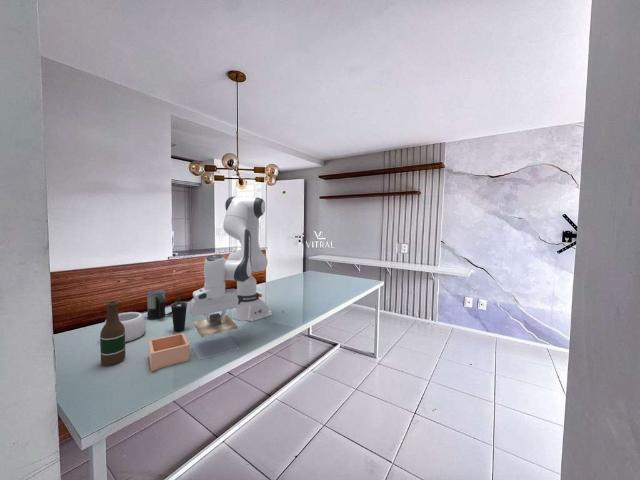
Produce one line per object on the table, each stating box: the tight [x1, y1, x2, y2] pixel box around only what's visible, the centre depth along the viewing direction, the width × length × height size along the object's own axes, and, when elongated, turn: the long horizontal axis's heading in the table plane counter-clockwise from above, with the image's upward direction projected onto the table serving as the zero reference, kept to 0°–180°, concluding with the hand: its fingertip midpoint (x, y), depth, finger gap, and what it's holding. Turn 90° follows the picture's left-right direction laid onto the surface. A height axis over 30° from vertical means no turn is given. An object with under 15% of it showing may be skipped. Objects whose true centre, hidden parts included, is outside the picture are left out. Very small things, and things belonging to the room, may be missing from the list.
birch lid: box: [193, 312, 238, 338], centre depth 116 cm, size 15×15×5 cm
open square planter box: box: [148, 332, 190, 373], centre depth 105 cm, size 13×13×7 cm
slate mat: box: [189, 334, 240, 361], centre depth 116 cm, size 17×17×1 cm
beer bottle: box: [99, 301, 127, 367], centre depth 101 cm, size 8×8×24 cm
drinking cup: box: [170, 291, 188, 333], centre depth 131 cm, size 8×8×20 cm
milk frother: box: [145, 289, 172, 320], centre depth 150 cm, size 14×16×15 cm
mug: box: [102, 311, 147, 343], centre depth 120 cm, size 21×17×10 cm
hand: (215, 320), depth 116 cm, fingers closed on birch lid, 4 cm apart
